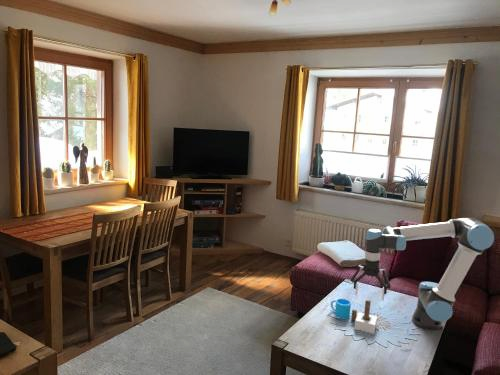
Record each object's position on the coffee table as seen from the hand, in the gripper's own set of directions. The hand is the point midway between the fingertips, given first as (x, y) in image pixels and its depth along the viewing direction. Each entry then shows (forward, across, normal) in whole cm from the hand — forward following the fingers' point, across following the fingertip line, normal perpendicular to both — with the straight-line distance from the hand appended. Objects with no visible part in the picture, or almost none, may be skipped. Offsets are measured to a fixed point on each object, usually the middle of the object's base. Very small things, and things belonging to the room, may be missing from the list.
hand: (369, 297), depth 212 cm
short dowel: (+17, +8, -4) cm, 19 cm away
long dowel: (+17, +1, 0) cm, 17 cm away
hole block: (+17, +1, 0) cm, 17 cm away
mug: (+17, +16, -8) cm, 25 cm away
